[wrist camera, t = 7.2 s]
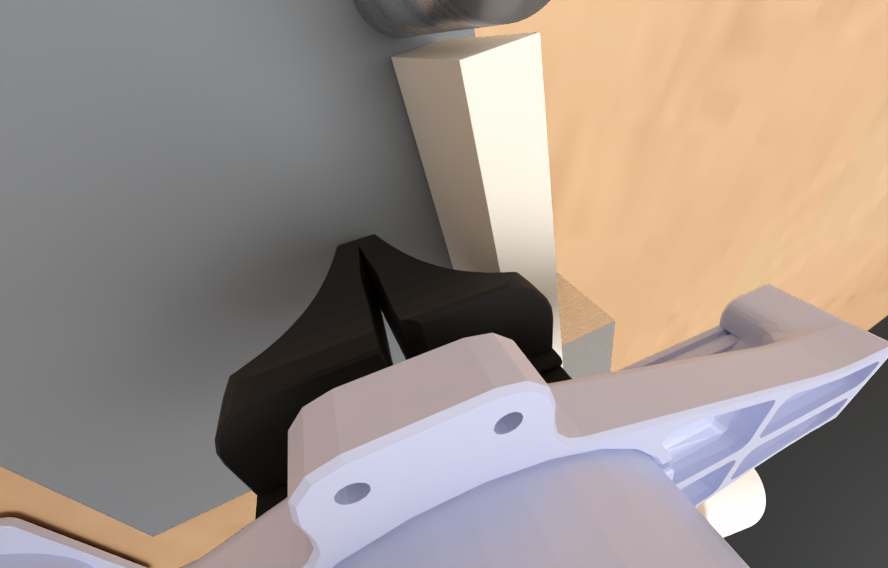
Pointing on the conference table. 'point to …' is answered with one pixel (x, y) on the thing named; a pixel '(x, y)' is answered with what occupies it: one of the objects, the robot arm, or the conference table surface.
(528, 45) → the block
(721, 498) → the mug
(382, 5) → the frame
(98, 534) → the conference table surface
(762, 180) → the conference table surface
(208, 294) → the mat
